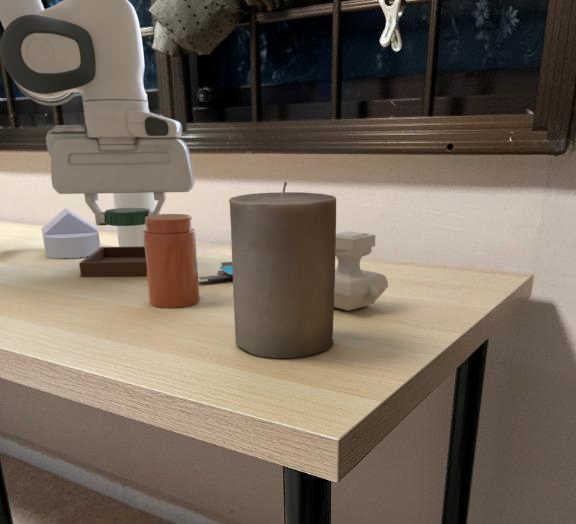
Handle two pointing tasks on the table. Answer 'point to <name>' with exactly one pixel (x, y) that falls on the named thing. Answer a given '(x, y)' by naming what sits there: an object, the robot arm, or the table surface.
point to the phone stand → (221, 275)
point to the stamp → (355, 272)
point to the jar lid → (126, 216)
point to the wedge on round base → (70, 236)
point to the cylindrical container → (134, 234)
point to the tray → (115, 262)
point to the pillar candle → (283, 272)
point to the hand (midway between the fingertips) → (129, 224)
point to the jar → (171, 260)
